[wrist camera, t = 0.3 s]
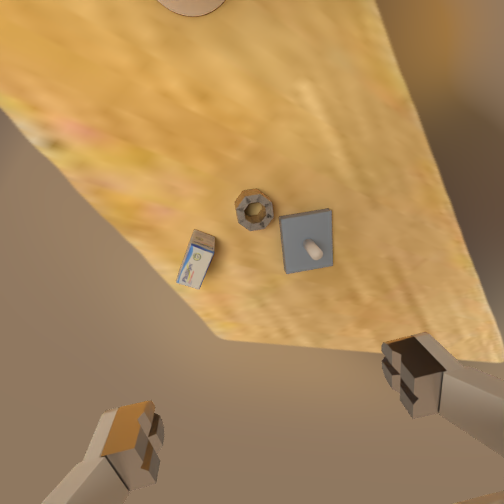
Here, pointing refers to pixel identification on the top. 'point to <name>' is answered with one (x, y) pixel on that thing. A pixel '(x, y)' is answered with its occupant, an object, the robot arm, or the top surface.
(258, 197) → the tube
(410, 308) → the top surface
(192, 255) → the medicine box
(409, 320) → the top surface
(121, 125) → the top surface
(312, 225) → the shaft block
